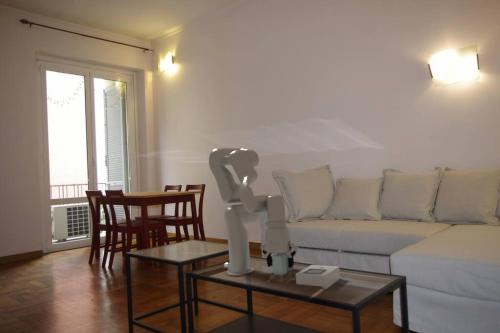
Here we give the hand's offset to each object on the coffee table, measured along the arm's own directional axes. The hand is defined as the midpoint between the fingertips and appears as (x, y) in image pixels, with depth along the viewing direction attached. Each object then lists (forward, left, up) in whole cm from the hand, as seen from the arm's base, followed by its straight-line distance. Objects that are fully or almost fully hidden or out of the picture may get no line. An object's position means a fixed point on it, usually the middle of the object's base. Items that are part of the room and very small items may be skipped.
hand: (280, 266), depth 161 cm
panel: (+15, +4, -6) cm, 17 cm away
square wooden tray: (0, 0, -6) cm, 6 cm away
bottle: (-6, +16, -7) cm, 19 cm away
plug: (0, 0, -5) cm, 5 cm away
